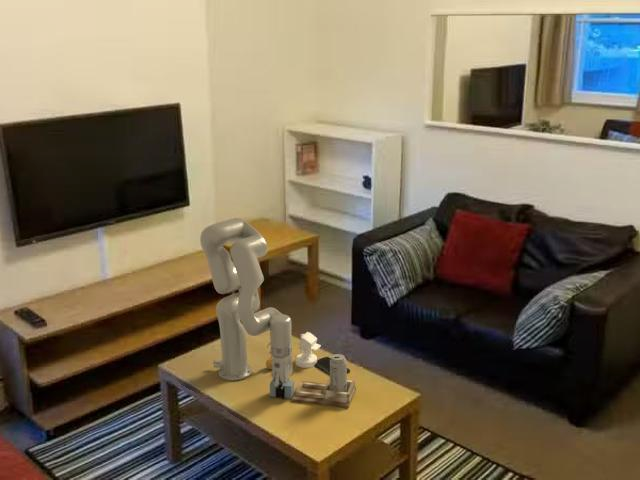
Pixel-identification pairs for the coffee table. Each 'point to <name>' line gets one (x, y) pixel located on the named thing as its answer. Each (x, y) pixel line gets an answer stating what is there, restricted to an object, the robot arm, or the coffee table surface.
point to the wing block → (288, 387)
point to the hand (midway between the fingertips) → (282, 393)
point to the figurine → (269, 361)
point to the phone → (325, 365)
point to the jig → (324, 394)
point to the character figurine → (307, 351)
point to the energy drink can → (338, 373)
